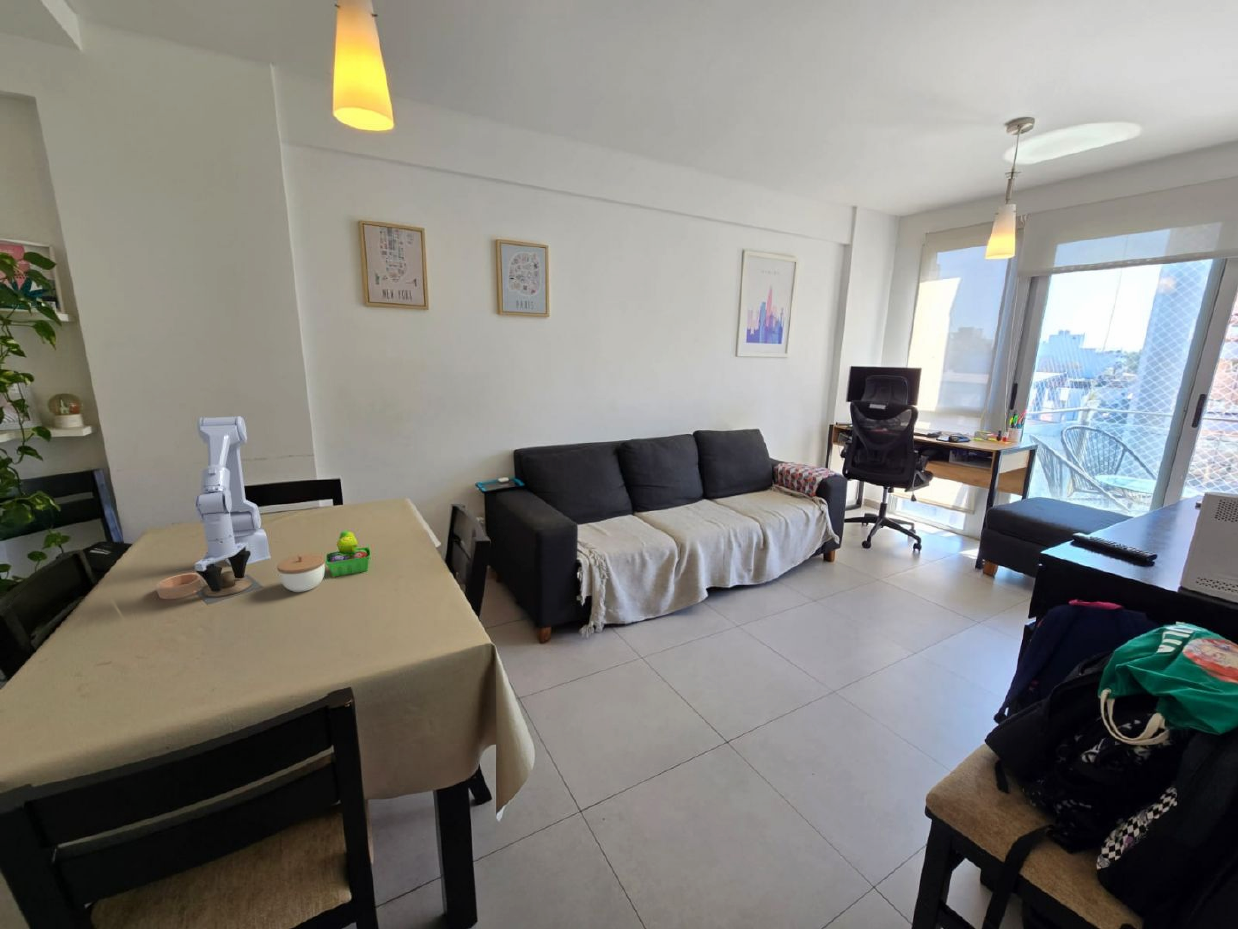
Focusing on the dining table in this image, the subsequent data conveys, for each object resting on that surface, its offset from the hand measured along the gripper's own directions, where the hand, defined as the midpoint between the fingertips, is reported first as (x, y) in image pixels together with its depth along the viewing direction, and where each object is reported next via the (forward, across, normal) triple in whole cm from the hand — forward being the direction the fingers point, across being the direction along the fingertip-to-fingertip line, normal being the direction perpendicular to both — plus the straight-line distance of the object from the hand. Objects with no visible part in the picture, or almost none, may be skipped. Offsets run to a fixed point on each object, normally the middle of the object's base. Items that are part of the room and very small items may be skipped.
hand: (228, 584), depth 131 cm
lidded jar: (+2, -3, +19) cm, 19 cm away
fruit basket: (+2, -15, +24) cm, 29 cm away
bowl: (+2, +2, -11) cm, 11 cm away
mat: (+2, 0, 0) cm, 2 cm away
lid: (+1, 0, 0) cm, 1 cm away
